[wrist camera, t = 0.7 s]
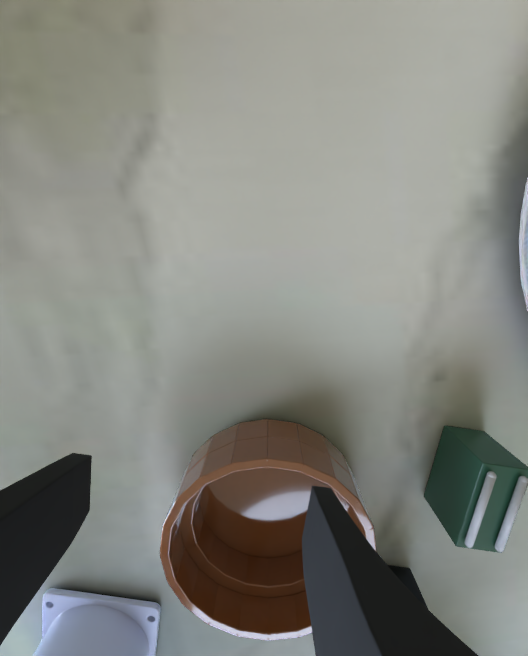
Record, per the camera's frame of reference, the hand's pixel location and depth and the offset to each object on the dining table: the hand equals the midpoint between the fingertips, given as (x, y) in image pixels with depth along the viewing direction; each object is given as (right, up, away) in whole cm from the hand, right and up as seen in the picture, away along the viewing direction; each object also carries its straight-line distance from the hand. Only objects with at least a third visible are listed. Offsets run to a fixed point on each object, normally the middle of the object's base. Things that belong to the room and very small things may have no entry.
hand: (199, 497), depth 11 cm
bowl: (+2, -5, +11) cm, 12 cm away
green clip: (+14, -3, +10) cm, 17 cm away
